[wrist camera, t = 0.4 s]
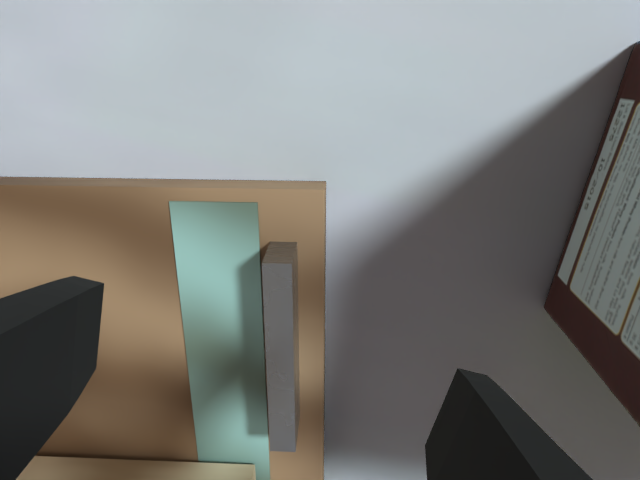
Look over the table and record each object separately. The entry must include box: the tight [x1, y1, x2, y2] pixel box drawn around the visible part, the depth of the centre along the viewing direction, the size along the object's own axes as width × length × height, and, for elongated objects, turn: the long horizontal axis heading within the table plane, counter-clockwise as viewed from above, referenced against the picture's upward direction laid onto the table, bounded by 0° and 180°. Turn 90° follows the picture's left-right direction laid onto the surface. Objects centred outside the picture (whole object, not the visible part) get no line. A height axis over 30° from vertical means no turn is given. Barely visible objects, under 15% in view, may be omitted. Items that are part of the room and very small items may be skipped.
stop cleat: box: [262, 241, 300, 452], centre depth 18 cm, size 8×1×2 cm, turn 0°
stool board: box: [0, 177, 326, 480], centre depth 21 cm, size 18×18×1 cm
